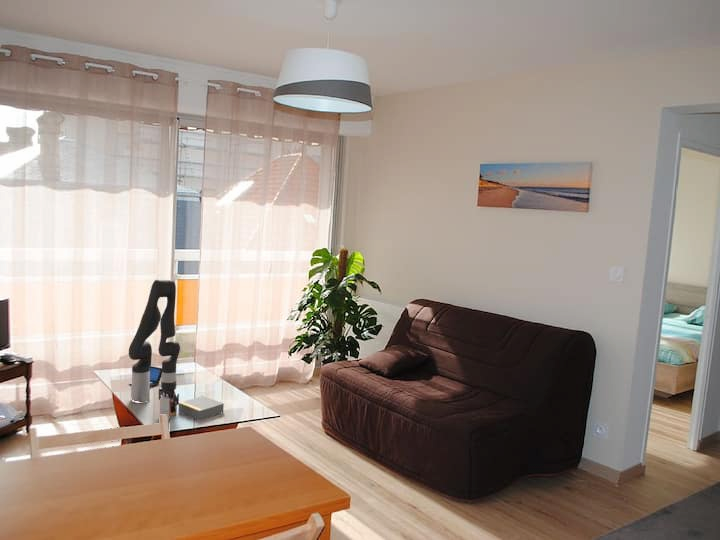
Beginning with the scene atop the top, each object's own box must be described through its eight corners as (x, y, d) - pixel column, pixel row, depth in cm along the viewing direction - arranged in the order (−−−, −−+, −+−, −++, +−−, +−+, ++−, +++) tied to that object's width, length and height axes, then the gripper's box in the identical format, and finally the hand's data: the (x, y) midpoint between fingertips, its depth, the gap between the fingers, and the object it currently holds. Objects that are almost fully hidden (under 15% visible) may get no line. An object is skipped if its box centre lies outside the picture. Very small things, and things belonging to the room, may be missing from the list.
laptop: (127, 385, 360) (127, 369, 359) (143, 379, 373) (143, 364, 371) (148, 389, 355) (149, 374, 353) (164, 383, 367) (164, 368, 366)
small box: (169, 419, 311) (169, 399, 309) (159, 417, 312) (159, 398, 311) (177, 413, 319) (177, 394, 317) (167, 412, 320) (167, 393, 318)
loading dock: (178, 412, 321) (178, 402, 321) (202, 404, 334) (202, 395, 334) (199, 420, 311) (199, 410, 311) (223, 412, 324) (223, 402, 324)
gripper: (154, 378, 314) (153, 408, 316) (171, 384, 306) (170, 416, 308) (166, 375, 320) (166, 405, 322) (183, 381, 312) (183, 412, 314)
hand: (168, 410), depth 315 cm, fingers closed on small box, 7 cm apart
